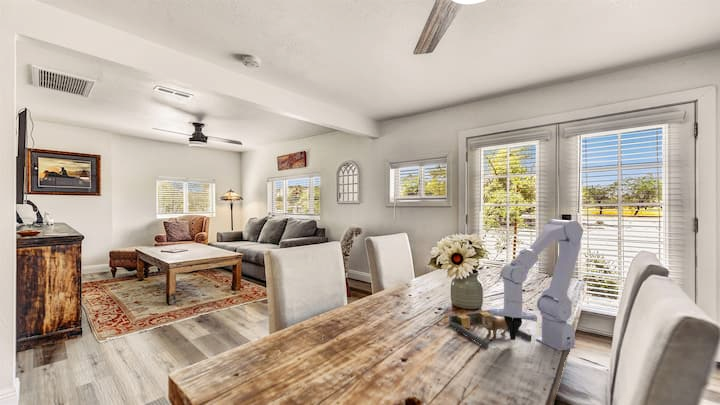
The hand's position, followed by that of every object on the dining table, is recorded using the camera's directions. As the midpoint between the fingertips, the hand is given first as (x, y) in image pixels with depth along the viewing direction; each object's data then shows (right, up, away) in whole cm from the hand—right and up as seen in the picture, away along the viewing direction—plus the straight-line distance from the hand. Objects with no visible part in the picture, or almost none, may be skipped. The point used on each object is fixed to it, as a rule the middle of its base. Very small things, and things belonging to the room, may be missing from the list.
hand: (512, 338), depth 105 cm
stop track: (-4, -3, +11) cm, 12 cm away
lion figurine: (-1, -3, +7) cm, 8 cm away
